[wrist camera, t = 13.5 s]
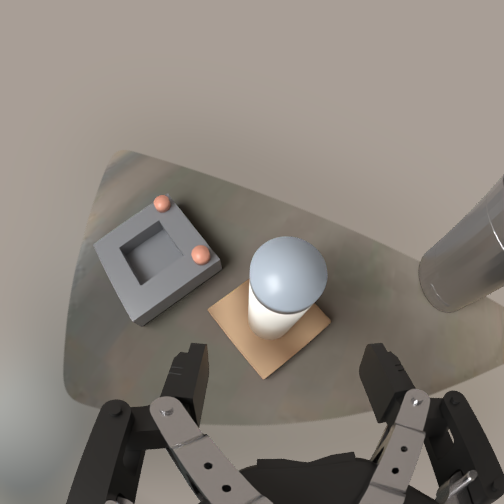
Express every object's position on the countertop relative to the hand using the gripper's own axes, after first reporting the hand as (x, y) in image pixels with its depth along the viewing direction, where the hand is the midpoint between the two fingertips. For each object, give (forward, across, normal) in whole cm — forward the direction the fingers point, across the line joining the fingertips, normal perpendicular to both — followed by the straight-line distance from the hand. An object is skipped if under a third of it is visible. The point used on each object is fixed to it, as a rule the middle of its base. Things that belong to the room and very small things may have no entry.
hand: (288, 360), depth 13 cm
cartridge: (+13, 0, +6) cm, 14 cm away
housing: (+18, +13, +2) cm, 22 cm away
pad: (+14, 0, +7) cm, 16 cm away
